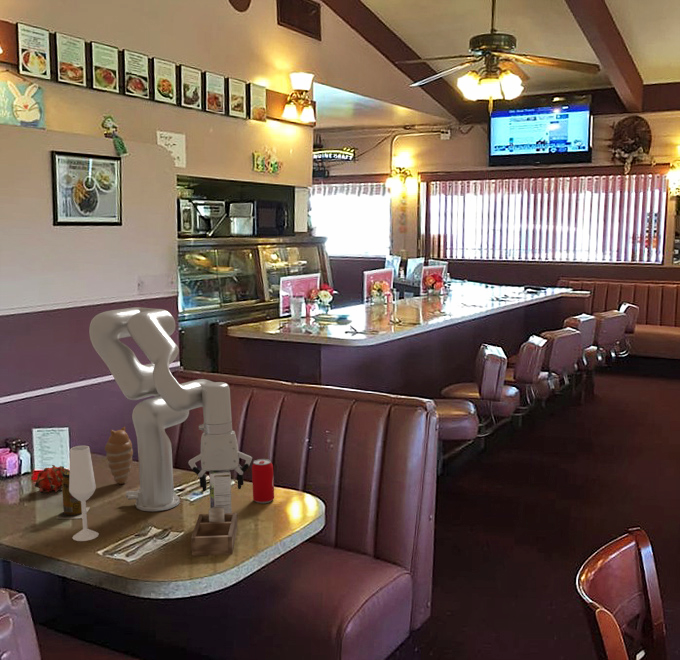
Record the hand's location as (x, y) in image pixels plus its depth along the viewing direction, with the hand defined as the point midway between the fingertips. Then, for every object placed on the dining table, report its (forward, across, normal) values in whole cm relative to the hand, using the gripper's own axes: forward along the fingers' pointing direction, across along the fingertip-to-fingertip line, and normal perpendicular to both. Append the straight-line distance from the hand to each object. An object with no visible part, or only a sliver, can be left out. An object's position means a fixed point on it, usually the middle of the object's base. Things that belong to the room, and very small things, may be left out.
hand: (222, 488), depth 217 cm
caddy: (+9, -1, -14) cm, 17 cm away
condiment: (+8, -44, +10) cm, 46 cm away
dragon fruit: (+7, -56, +30) cm, 64 cm away
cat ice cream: (+8, -36, +35) cm, 50 cm away
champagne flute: (+8, -36, -7) cm, 38 cm away
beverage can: (+9, +10, +15) cm, 20 cm away
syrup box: (+9, -1, +1) cm, 9 cm away
